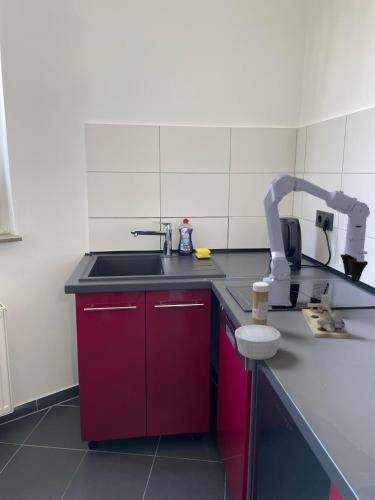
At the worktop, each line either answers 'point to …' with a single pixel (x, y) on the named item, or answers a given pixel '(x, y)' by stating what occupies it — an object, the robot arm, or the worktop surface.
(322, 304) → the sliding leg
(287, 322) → the worktop surface
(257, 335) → the ramekin
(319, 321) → the fixed leg
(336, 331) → the board
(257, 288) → the sprinkles bottle
